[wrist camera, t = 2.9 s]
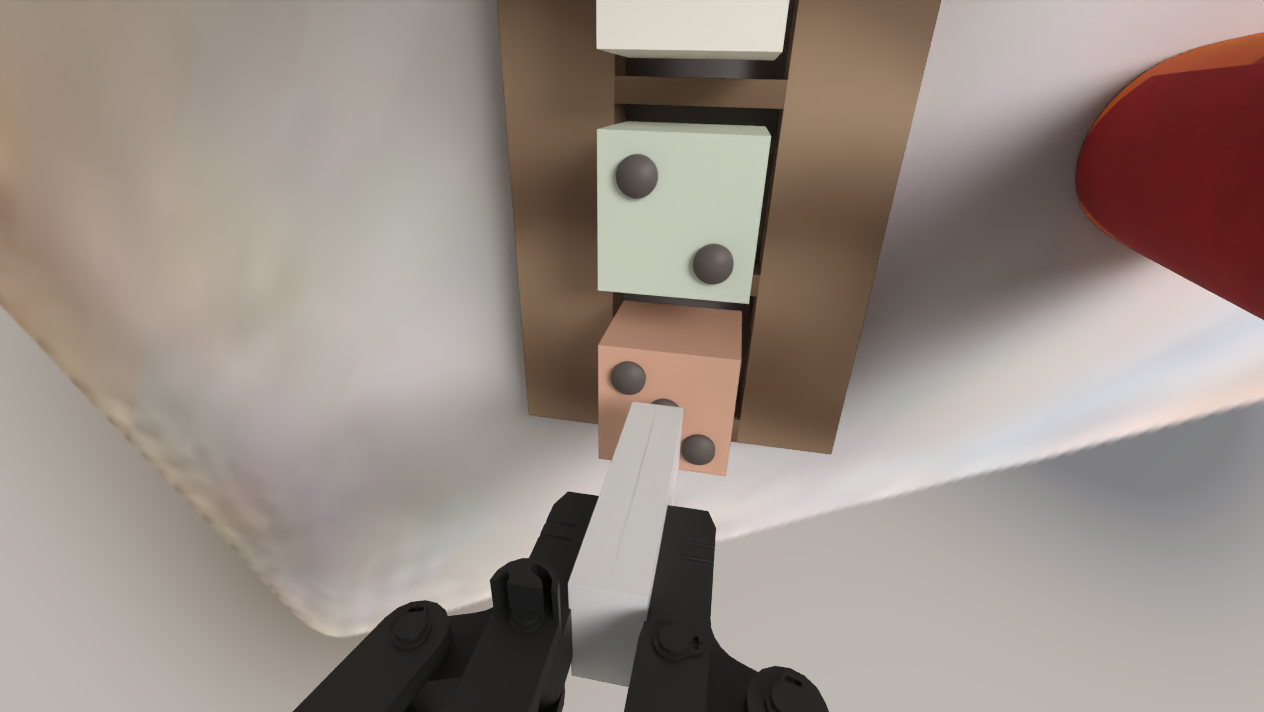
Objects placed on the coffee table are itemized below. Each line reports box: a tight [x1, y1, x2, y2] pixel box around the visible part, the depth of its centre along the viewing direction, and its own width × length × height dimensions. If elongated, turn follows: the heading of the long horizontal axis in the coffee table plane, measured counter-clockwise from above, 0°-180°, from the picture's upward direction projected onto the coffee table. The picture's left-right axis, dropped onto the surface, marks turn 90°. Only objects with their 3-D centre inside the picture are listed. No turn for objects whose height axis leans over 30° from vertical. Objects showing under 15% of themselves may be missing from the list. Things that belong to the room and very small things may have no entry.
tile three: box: [598, 300, 742, 476], centre depth 19 cm, size 4×4×4 cm
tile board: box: [497, 0, 941, 454], centre depth 19 cm, size 20×13×2 cm, turn 178°
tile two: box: [597, 121, 771, 304], centre depth 16 cm, size 4×4×4 cm
